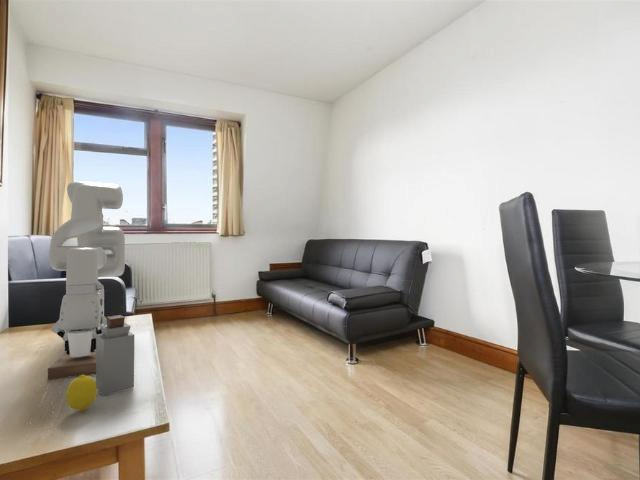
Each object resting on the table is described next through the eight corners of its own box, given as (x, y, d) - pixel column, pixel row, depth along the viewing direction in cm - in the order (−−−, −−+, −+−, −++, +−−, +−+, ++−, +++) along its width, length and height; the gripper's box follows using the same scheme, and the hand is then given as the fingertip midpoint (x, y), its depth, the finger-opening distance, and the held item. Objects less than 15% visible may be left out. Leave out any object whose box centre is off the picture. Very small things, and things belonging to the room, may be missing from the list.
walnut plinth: (64, 363, 100) (64, 353, 100) (110, 359, 104) (110, 349, 104) (47, 379, 89) (47, 368, 89) (99, 373, 93) (99, 363, 93)
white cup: (80, 358, 93) (81, 333, 93) (60, 356, 94) (60, 332, 94) (101, 350, 99) (101, 327, 99) (82, 348, 101) (82, 325, 101)
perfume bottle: (95, 387, 84) (96, 317, 84) (125, 379, 89) (125, 312, 89) (103, 396, 80) (104, 321, 80) (133, 387, 85) (134, 317, 85)
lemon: (76, 405, 75) (76, 370, 75) (102, 404, 76) (102, 369, 76) (59, 418, 70) (60, 380, 70) (87, 417, 70) (87, 379, 70)
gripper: (118, 286, 103) (118, 345, 103) (52, 289, 97) (51, 350, 97) (112, 290, 96) (112, 353, 96) (40, 293, 90) (40, 359, 90)
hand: (81, 351), depth 97 cm, fingers closed on white cup, 5 cm apart
